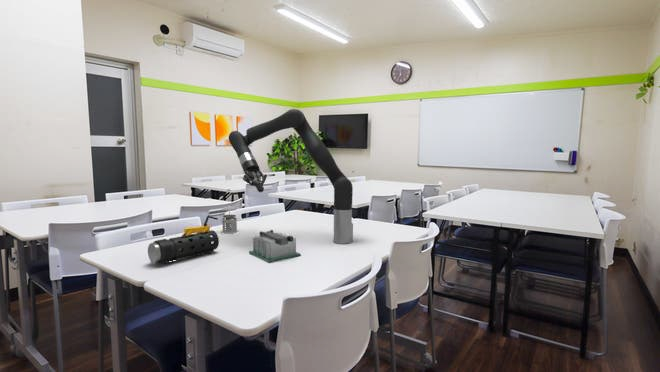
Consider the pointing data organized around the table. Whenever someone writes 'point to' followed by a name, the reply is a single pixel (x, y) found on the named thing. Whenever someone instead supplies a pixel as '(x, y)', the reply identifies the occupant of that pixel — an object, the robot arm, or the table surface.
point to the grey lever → (273, 235)
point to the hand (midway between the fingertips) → (261, 191)
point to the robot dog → (198, 228)
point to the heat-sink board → (273, 248)
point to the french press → (229, 220)
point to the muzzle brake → (182, 246)
